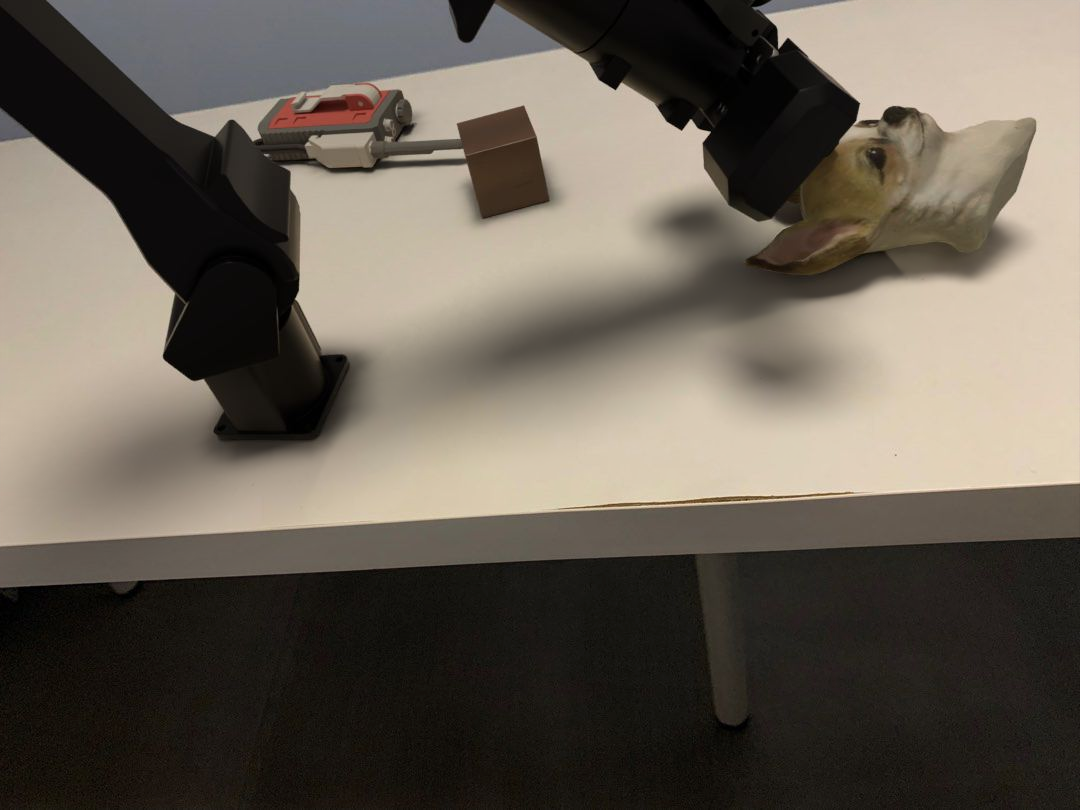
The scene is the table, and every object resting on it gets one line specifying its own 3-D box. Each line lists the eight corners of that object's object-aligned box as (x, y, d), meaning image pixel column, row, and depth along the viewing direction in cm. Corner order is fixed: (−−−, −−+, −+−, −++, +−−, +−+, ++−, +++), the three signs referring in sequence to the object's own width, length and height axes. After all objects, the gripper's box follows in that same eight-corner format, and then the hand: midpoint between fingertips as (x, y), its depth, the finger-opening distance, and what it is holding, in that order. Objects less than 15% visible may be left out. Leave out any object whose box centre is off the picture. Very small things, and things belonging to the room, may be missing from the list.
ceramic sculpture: (1066, 143, 39) (735, 179, 44) (1036, 291, 45) (747, 309, 50) (1021, 44, 46) (740, 83, 51) (1000, 182, 52) (750, 207, 57)
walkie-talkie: (244, 177, 72) (465, 168, 66) (221, 129, 68) (450, 115, 63) (288, 124, 77) (494, 111, 72) (268, 78, 74) (482, 60, 68)
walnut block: (549, 200, 60) (536, 136, 57) (482, 218, 60) (464, 155, 57) (536, 167, 64) (524, 105, 60) (473, 184, 64) (456, 123, 60)
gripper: (819, -141, 27) (1067, 90, 35) (656, -226, 41) (862, -46, 48) (616, 144, 33) (868, 289, 41) (531, -13, 46) (733, 119, 54)
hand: (831, 146), depth 46 cm, fingers closed
